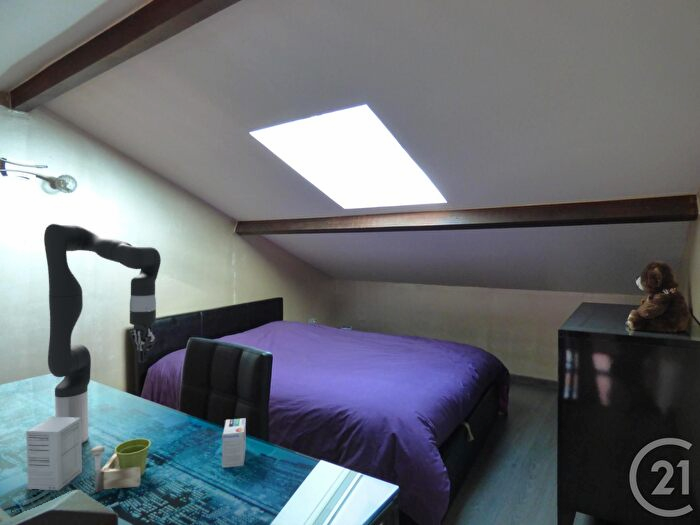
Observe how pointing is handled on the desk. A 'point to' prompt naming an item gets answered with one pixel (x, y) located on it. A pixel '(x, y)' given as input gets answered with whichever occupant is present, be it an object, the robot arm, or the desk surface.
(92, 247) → the robot arm
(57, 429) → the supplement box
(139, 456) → the plant pot
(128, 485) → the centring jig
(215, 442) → the desk surface
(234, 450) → the light bulb box
